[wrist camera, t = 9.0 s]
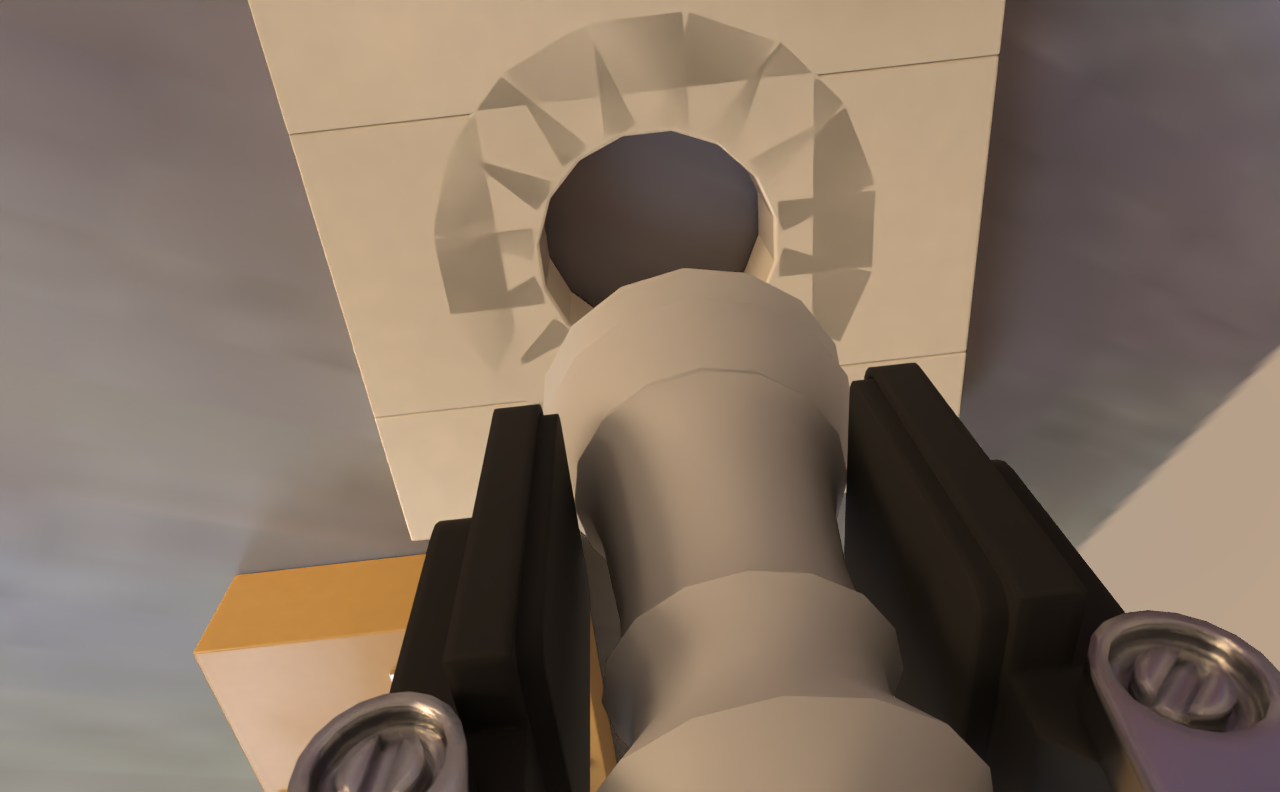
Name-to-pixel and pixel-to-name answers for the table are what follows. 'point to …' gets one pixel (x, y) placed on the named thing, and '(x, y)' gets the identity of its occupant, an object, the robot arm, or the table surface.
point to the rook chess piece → (734, 549)
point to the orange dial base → (325, 657)
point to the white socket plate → (591, 119)
